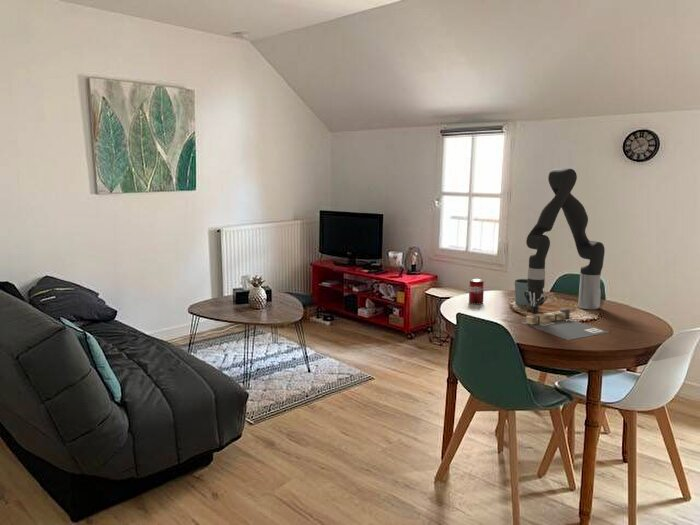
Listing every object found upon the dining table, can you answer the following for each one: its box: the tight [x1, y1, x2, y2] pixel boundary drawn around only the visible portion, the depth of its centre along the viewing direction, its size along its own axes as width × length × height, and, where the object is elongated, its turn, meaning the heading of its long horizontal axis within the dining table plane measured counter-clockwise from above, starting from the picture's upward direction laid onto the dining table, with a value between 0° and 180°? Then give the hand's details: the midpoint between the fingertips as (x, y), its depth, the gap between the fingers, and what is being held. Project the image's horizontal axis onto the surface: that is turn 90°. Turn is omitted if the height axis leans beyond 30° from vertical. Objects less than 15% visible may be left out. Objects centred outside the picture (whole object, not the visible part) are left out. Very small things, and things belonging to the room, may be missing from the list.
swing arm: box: [525, 307, 571, 325], centre depth 244 cm, size 23×4×4 cm, turn 114°
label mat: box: [519, 320, 610, 341], centre depth 235 cm, size 24×28×1 cm
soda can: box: [468, 278, 485, 305], centre depth 277 cm, size 7×7×12 cm
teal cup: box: [514, 278, 531, 306], centre depth 275 cm, size 10×10×12 cm
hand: (534, 313), depth 250 cm, fingers closed
